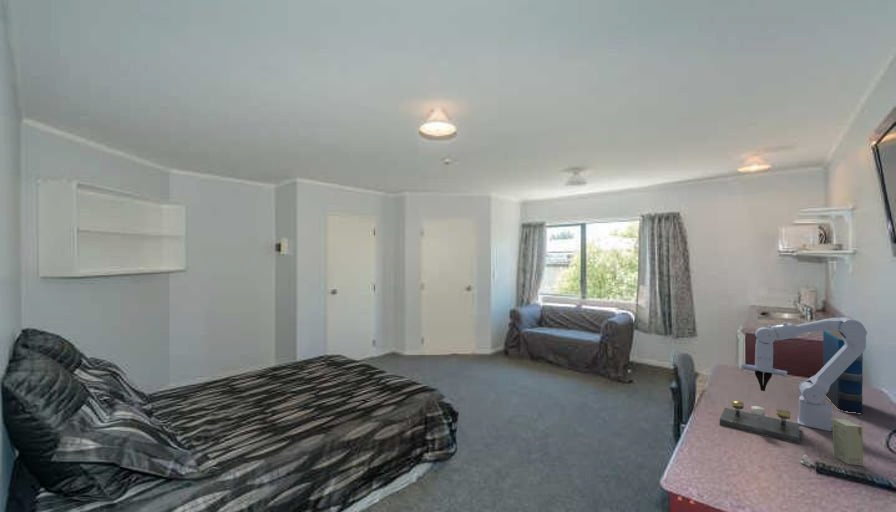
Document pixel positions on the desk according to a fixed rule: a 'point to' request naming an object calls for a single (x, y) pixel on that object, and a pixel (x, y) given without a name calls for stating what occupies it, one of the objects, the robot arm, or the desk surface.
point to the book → (844, 376)
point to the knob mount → (760, 425)
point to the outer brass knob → (737, 405)
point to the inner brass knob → (783, 415)
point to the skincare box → (847, 441)
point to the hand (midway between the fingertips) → (762, 390)
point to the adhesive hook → (806, 461)
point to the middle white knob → (758, 412)
